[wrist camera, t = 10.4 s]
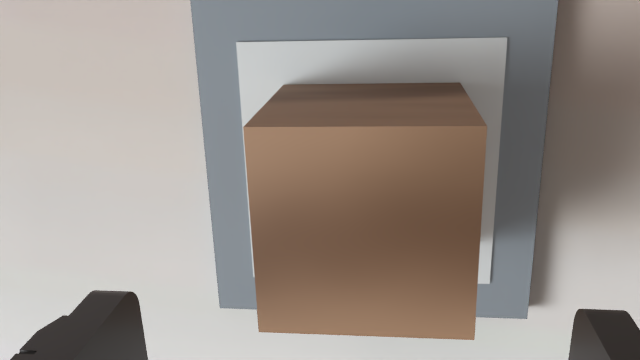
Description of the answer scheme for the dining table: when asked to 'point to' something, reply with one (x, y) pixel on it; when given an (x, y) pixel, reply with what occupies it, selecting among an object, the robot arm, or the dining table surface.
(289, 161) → the walnut cube
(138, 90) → the dining table surface
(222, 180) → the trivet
